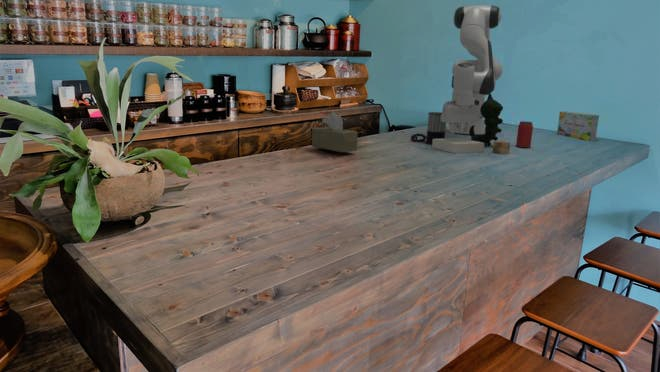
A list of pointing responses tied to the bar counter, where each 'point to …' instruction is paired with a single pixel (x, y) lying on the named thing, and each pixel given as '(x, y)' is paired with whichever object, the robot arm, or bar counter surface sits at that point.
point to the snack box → (578, 125)
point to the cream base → (458, 145)
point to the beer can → (524, 134)
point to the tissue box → (334, 135)
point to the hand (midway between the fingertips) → (458, 132)
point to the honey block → (501, 147)
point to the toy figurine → (489, 121)
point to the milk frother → (432, 129)
